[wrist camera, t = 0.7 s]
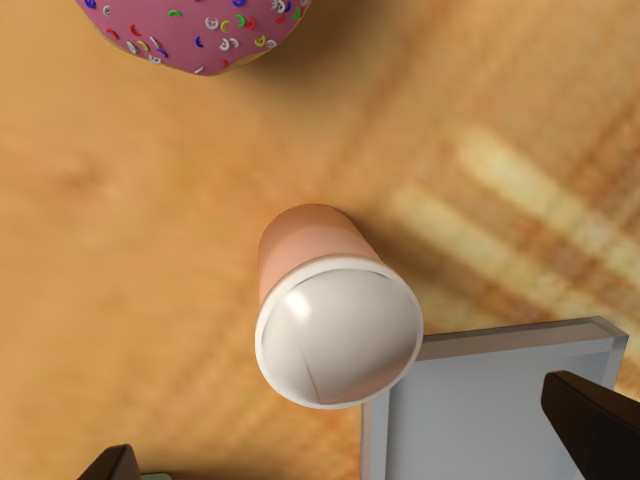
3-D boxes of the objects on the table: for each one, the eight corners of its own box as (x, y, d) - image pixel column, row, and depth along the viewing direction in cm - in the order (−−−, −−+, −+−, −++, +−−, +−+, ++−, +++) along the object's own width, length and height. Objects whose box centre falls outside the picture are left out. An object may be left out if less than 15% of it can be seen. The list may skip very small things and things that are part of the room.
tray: (599, 316, 26) (629, 335, 24) (544, 524, 33) (563, 552, 31) (363, 343, 24) (373, 366, 22) (357, 560, 31) (365, 593, 29)
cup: (366, 196, 21) (430, 255, 13) (363, 298, 23) (417, 398, 15) (249, 203, 20) (248, 270, 12) (258, 308, 22) (261, 419, 14)
